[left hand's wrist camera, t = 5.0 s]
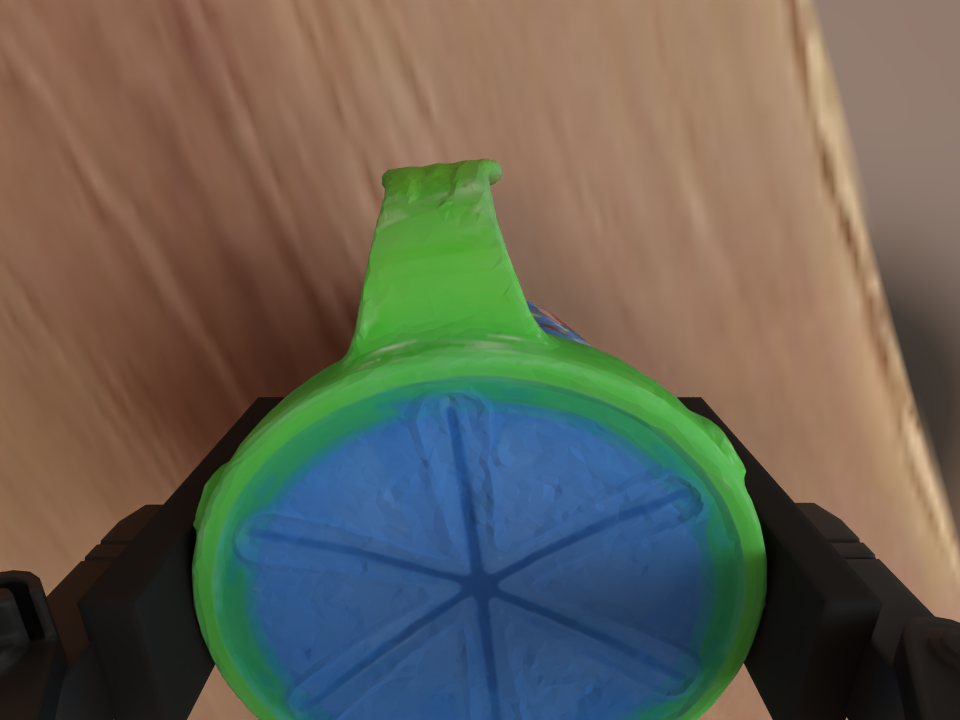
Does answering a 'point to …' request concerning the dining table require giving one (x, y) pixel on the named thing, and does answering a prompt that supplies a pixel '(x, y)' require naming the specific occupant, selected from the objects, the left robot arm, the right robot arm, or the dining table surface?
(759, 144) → the dining table surface
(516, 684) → the toddler cup with handle
